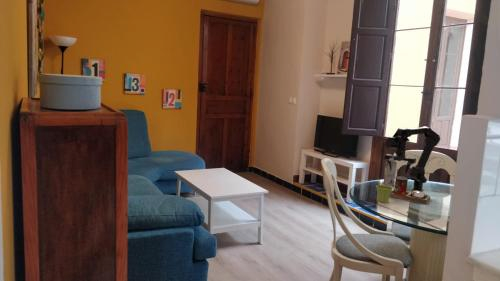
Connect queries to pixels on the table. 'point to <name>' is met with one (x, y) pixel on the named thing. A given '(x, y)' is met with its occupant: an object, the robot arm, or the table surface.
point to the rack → (410, 197)
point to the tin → (418, 194)
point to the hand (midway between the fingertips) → (398, 171)
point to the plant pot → (383, 193)
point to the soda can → (400, 185)
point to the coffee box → (390, 173)
